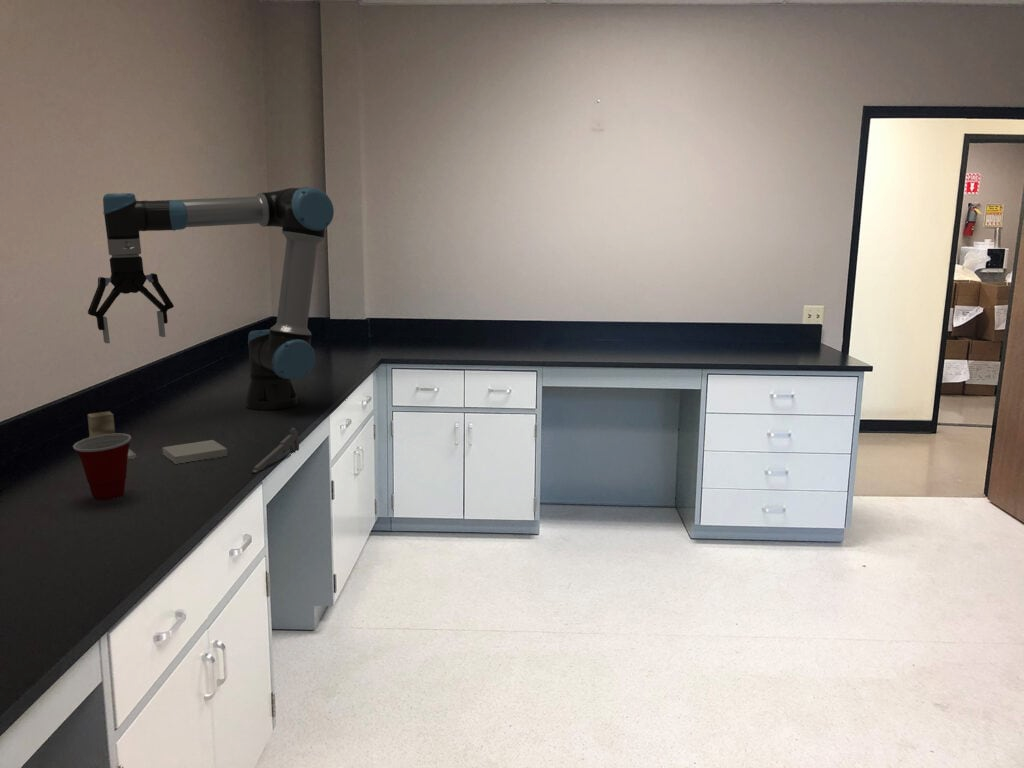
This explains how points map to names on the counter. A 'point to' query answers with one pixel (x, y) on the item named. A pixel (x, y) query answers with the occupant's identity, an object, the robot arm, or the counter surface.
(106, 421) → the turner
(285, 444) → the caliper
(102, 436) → the plastic cup
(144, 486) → the counter surface
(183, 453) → the tile
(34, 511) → the counter surface
